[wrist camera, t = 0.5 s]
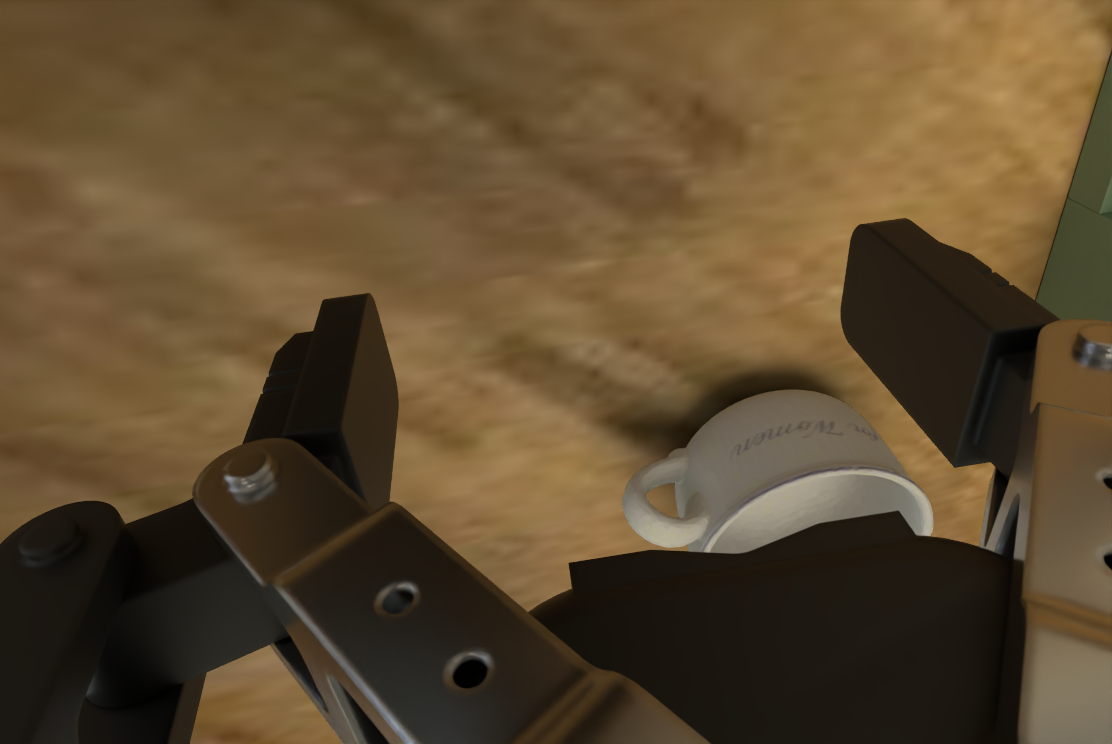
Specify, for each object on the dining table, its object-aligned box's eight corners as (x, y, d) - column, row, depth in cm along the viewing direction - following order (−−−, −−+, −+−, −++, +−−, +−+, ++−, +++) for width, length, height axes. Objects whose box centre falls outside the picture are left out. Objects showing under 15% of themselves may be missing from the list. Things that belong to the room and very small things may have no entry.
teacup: (896, 398, 38) (987, 507, 32) (776, 536, 43) (834, 655, 37) (673, 310, 34) (726, 415, 27) (568, 476, 39) (592, 599, 32)
